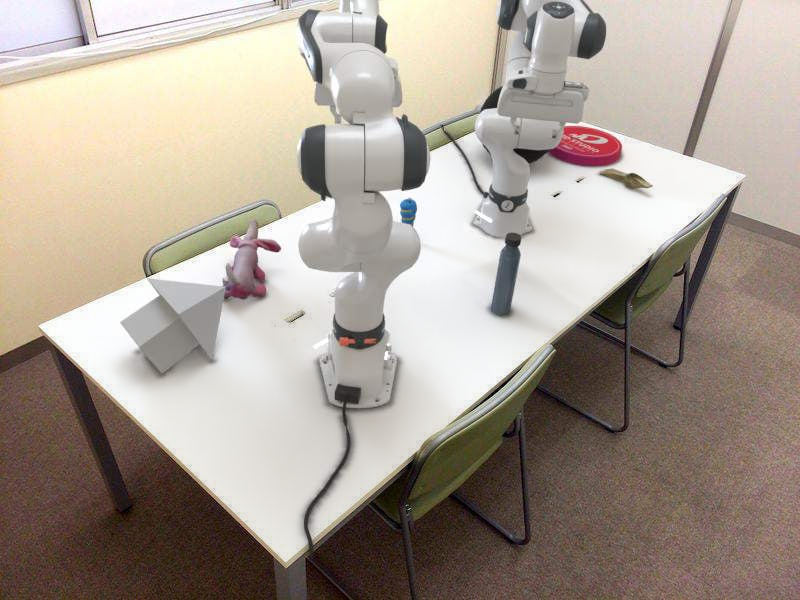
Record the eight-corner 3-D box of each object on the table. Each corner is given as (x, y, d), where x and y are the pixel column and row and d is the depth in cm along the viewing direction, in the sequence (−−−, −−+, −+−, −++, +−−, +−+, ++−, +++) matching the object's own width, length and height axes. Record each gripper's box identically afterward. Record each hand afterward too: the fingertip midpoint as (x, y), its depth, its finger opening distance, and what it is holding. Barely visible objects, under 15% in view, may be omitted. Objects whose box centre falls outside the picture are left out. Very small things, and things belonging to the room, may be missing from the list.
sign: (588, 172, 247) (635, 153, 263) (590, 164, 245) (637, 145, 261) (529, 144, 265) (575, 128, 281) (530, 136, 263) (577, 120, 278)
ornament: (395, 240, 203) (397, 197, 194) (403, 233, 207) (405, 190, 198) (410, 245, 201) (413, 202, 192) (417, 237, 205) (420, 195, 196)
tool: (597, 174, 249) (599, 163, 246) (610, 171, 251) (612, 160, 248) (638, 197, 232) (641, 185, 229) (652, 193, 234) (655, 182, 231)
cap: (501, 241, 166) (502, 234, 165) (513, 237, 168) (514, 230, 166) (511, 249, 163) (512, 242, 162) (523, 245, 165) (524, 238, 164)
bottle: (487, 307, 179) (498, 235, 165) (501, 301, 181) (514, 230, 167) (498, 317, 176) (512, 245, 162) (513, 312, 178) (528, 240, 164)
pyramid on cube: (256, 326, 161) (227, 278, 148) (174, 389, 154) (136, 344, 140) (223, 293, 171) (193, 245, 157) (145, 351, 164) (106, 305, 150)
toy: (299, 270, 187) (288, 223, 179) (243, 315, 171) (228, 266, 163) (250, 258, 196) (238, 213, 188) (193, 300, 180) (176, 253, 172)
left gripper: (311, 67, 142) (313, 127, 151) (404, 69, 144) (401, 129, 153) (312, 58, 147) (314, 117, 156) (402, 60, 149) (399, 118, 158)
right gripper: (589, 79, 153) (576, 135, 162) (502, 71, 155) (494, 126, 164) (591, 88, 148) (578, 145, 157) (501, 79, 150) (493, 136, 159)
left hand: (358, 123), depth 154 cm, fingers open, 8 cm apart
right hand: (534, 135), depth 160 cm, fingers open, 8 cm apart
